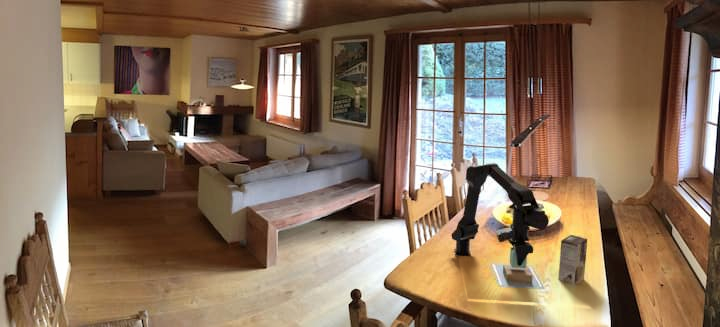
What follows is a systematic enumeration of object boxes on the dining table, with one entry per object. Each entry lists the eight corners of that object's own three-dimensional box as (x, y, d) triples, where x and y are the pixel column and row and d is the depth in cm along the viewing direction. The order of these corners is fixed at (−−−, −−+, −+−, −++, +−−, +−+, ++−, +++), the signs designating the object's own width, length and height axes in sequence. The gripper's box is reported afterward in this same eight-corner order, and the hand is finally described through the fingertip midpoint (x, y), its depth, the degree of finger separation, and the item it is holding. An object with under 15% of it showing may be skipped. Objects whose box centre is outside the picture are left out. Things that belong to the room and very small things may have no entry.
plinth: (502, 272, 190) (503, 264, 189) (526, 273, 189) (527, 266, 188) (506, 281, 181) (507, 274, 180) (532, 283, 180) (532, 275, 179)
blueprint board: (490, 265, 199) (490, 263, 198) (531, 267, 197) (531, 265, 197) (498, 288, 177) (498, 286, 177) (544, 291, 175) (545, 288, 175)
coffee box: (567, 274, 190) (570, 234, 187) (584, 279, 185) (588, 238, 183) (557, 281, 184) (560, 239, 181) (574, 286, 179) (578, 244, 176)
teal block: (509, 262, 187) (510, 247, 186) (523, 263, 186) (524, 248, 185) (512, 267, 182) (513, 252, 181) (525, 268, 181) (527, 252, 180)
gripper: (494, 214, 191) (492, 253, 194) (502, 229, 173) (499, 271, 176) (524, 215, 190) (521, 254, 193) (535, 230, 172) (531, 273, 174)
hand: (517, 262), depth 184 cm, fingers closed on teal block, 5 cm apart
